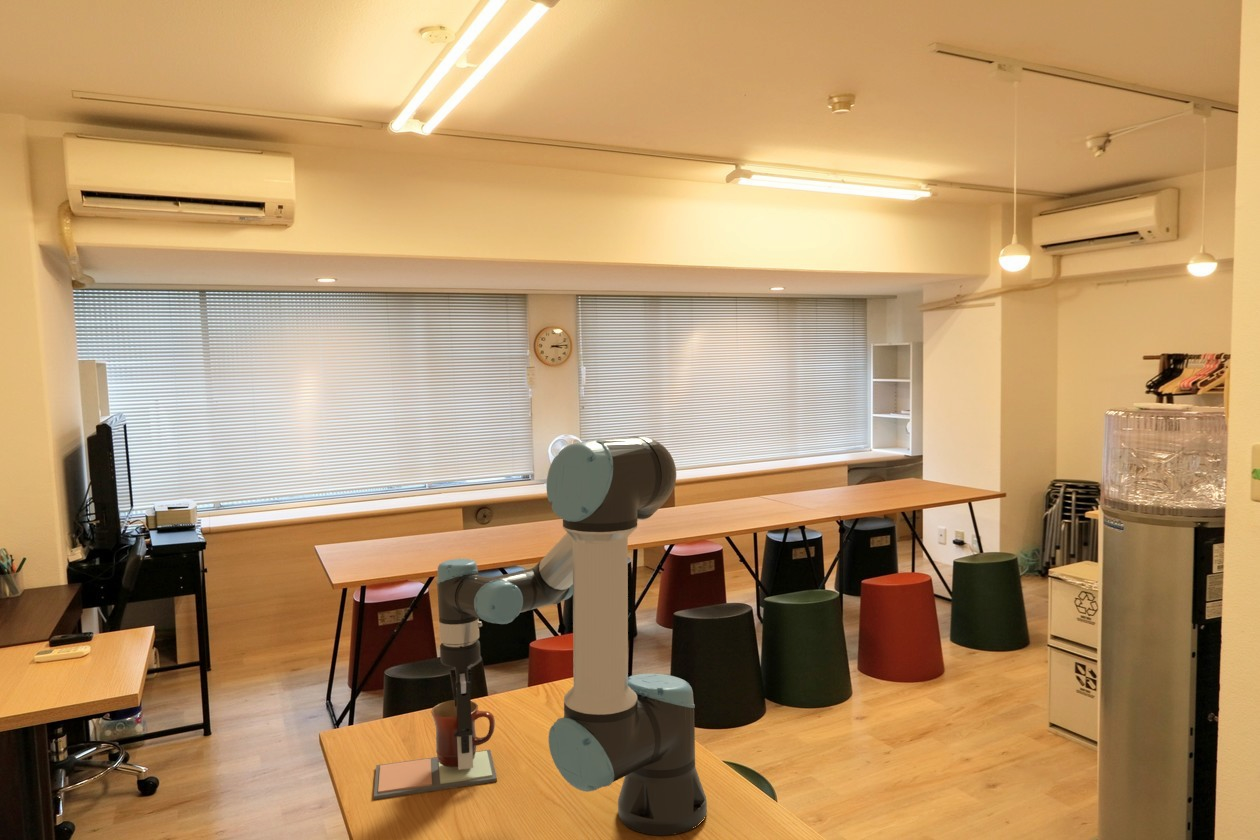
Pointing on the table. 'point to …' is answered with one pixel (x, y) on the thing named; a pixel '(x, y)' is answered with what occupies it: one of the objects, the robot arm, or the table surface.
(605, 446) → the robot arm
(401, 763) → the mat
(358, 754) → the table surface
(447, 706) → the mug
